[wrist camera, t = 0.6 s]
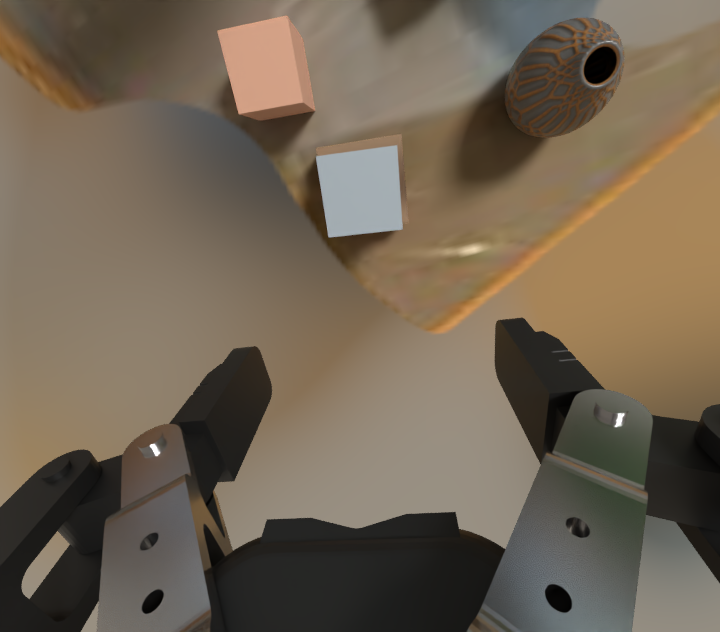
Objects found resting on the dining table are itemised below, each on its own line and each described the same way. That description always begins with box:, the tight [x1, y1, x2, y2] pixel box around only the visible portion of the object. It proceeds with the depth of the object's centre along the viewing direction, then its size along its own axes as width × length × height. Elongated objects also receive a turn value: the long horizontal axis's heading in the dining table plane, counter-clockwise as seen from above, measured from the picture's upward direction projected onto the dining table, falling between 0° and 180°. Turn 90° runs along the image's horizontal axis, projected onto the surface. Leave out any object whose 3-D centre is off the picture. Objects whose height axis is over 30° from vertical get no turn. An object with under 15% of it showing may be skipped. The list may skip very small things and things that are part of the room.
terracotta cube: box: [217, 16, 315, 121], centre depth 26 cm, size 5×5×5 cm
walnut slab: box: [316, 134, 409, 224], centre depth 30 cm, size 7×7×4 cm
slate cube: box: [316, 145, 403, 237], centre depth 26 cm, size 6×6×6 cm
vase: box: [505, 18, 624, 138], centre depth 23 cm, size 7×7×9 cm
